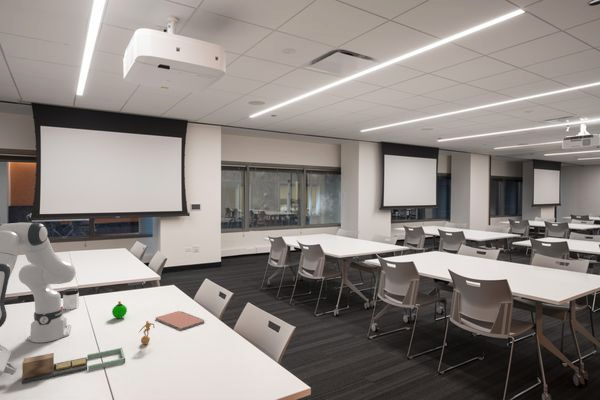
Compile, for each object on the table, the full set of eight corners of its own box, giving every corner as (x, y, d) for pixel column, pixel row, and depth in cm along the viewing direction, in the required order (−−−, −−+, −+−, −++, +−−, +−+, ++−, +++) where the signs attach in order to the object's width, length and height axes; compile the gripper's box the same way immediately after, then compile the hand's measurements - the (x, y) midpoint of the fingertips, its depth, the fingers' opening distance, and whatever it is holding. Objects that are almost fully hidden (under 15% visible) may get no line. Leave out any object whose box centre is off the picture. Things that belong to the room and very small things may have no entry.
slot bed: (21, 387, 140) (21, 381, 140) (25, 375, 149) (25, 369, 149) (87, 372, 152) (87, 367, 152) (86, 362, 161) (86, 356, 161)
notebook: (206, 323, 211) (206, 319, 211) (180, 331, 198) (180, 327, 198) (180, 313, 228) (180, 310, 228) (155, 320, 215) (155, 317, 215)
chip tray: (88, 373, 151) (88, 366, 151) (87, 361, 162) (87, 354, 162) (125, 365, 158) (125, 358, 158) (122, 353, 169) (122, 347, 169)
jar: (64, 310, 231) (64, 292, 231) (61, 308, 237) (61, 289, 237) (80, 307, 237) (80, 289, 237) (77, 305, 243) (77, 287, 243)
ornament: (123, 320, 215) (123, 303, 214) (109, 320, 214) (109, 303, 214) (129, 315, 223) (129, 299, 222) (115, 315, 222) (115, 299, 222)
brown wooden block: (22, 380, 143) (22, 363, 142) (24, 375, 147) (23, 358, 147) (53, 374, 148) (53, 357, 148) (53, 369, 152) (53, 352, 152)
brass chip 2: (72, 370, 151) (71, 365, 151) (72, 365, 156) (72, 360, 155) (85, 367, 154) (85, 362, 154) (85, 362, 158) (85, 358, 158)
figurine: (150, 340, 185) (150, 317, 185) (157, 343, 182) (157, 319, 181) (135, 345, 178) (135, 321, 178) (141, 348, 175) (141, 324, 175)
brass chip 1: (56, 373, 148) (56, 368, 148) (56, 368, 153) (56, 363, 153) (70, 370, 151) (70, 365, 151) (70, 365, 155) (70, 361, 155)
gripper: (-17, 356, 130) (18, 376, 136) (-6, 337, 148) (24, 355, 153) (-33, 371, 128) (3, 391, 133) (-20, 350, 145) (11, 368, 151)
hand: (14, 371), depth 143 cm, fingers closed
